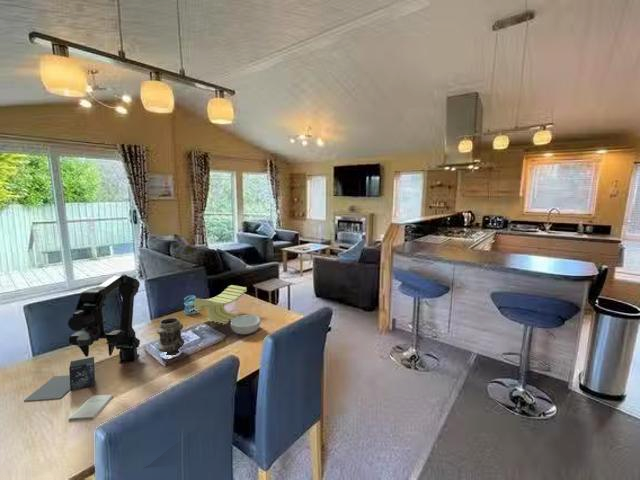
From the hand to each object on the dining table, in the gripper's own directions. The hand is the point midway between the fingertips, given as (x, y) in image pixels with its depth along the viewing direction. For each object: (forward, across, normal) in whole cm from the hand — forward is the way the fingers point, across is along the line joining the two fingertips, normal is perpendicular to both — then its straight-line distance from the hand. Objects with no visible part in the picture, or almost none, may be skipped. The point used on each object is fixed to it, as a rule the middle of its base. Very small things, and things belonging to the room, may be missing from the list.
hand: (98, 355), depth 127 cm
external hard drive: (+14, +5, -15) cm, 21 cm away
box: (+13, -7, 0) cm, 15 cm away
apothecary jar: (+13, +20, +23) cm, 33 cm away
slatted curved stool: (+13, +36, +66) cm, 76 cm away
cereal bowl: (+13, +53, +46) cm, 72 cm away
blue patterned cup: (+13, +12, +78) cm, 80 cm away
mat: (+13, -17, 0) cm, 22 cm away
